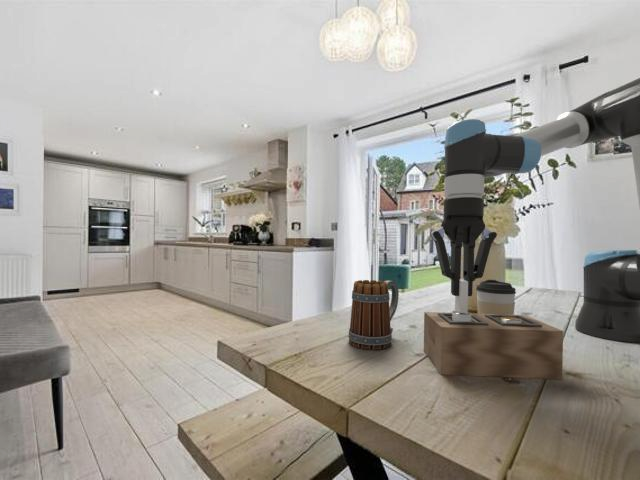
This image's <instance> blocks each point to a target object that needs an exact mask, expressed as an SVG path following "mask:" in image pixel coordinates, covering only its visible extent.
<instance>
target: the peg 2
mask: <svg viewBox="0 0 640 480" xmlns="http://www.w3.org/2000/svg"><path fill="white" fill-rule="evenodd" d="M501 321H502V322H504V323H522V320H521V319H519V318H515V317H501Z"/></svg>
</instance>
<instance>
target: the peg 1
mask: <svg viewBox="0 0 640 480" xmlns="http://www.w3.org/2000/svg"><path fill="white" fill-rule="evenodd" d="M451 313H452V321H462V322H471V312H468V313H459V312H457V311H456V310H453V311H452V312H451Z"/></svg>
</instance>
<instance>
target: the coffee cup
mask: <svg viewBox="0 0 640 480" xmlns="http://www.w3.org/2000/svg"><path fill="white" fill-rule="evenodd" d="M475 290H476V296H477V298H476V308H477V309H476V310H477V314H509V315H515V306H516V302H515V298H516V297H515V296H516V294H517V291H516V288H515V287H513V286H512V284H511V283H509V282H504V281H499V280H496V279H486V280H482V281H481V282H480V283H479V284H476V289H475Z"/></svg>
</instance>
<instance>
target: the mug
mask: <svg viewBox="0 0 640 480" xmlns="http://www.w3.org/2000/svg"><path fill="white" fill-rule="evenodd" d="M389 287H390V290H391V300H390V292H389ZM399 292H400V291H399V287H398V285H397V283H396V282H395V281H393V280H384V281H382V280H374V279H372V280H369V279H363V280H361V279H359V280H355V281H354V283H353V289H352V291H351V299H352V300H351V314H350V323H349V329H348V342H349V343H350V344H351V345H352V346H354V347H356V348H357V349H360V350H365V351H379V350H380V351H381V350H386V349H387V348H389V347H391V345H392V340H393V337H392V336H393V335H392V334H393V331H394V327H391V322H392V319H393V317H394V315H395V314H396V311H397V308H398V303H399V298H400V297H399V294H400V293H399Z"/></svg>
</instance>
